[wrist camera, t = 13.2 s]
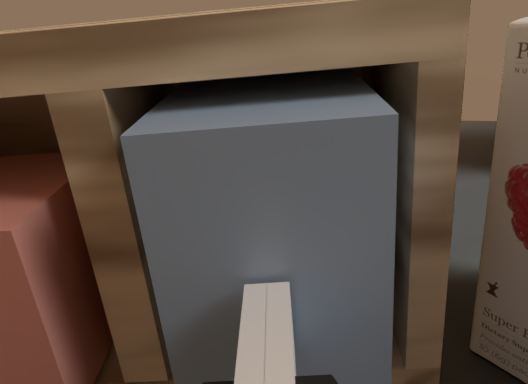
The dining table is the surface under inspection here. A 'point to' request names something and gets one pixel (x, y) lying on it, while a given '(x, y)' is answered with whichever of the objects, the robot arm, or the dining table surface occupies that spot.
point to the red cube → (46, 279)
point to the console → (233, 67)
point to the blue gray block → (270, 218)
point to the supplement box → (507, 223)
